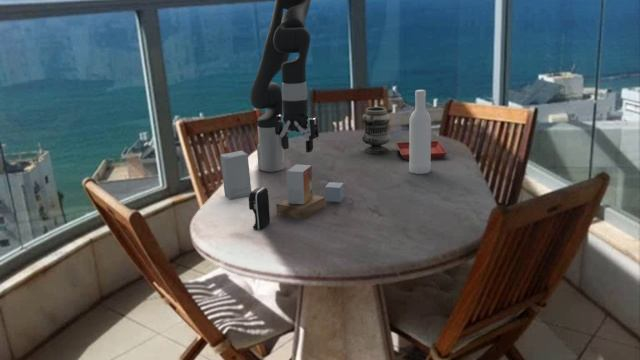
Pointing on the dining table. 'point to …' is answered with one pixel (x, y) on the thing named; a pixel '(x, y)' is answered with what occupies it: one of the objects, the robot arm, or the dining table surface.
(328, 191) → the blue-grey cube
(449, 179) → the dining table surface
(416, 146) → the bottle
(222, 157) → the skincare box
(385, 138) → the apothecary jar
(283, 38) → the robot arm
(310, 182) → the small box
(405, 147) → the plant saucer
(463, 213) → the dining table surface
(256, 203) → the battery charger
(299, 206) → the walnut slab
